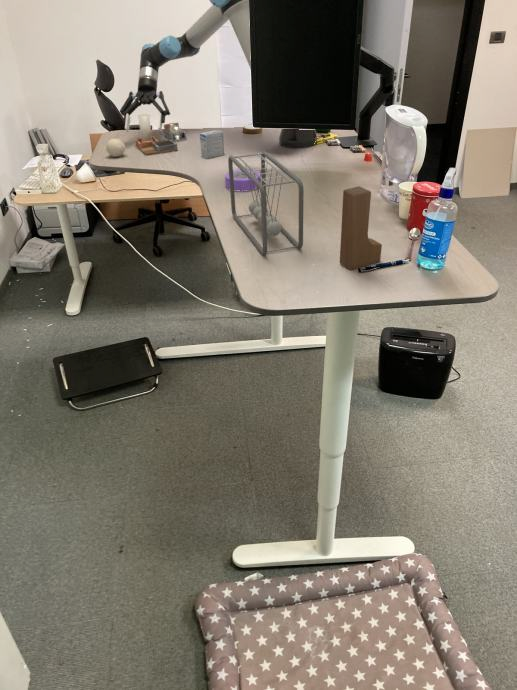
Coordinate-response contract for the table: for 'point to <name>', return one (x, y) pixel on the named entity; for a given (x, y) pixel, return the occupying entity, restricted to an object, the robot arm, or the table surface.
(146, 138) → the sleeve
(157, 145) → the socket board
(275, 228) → the newton's cradle
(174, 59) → the robot arm
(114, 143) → the baseball
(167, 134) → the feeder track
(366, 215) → the wooden block
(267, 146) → the table surface
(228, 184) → the masking tape
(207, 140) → the medicine box
